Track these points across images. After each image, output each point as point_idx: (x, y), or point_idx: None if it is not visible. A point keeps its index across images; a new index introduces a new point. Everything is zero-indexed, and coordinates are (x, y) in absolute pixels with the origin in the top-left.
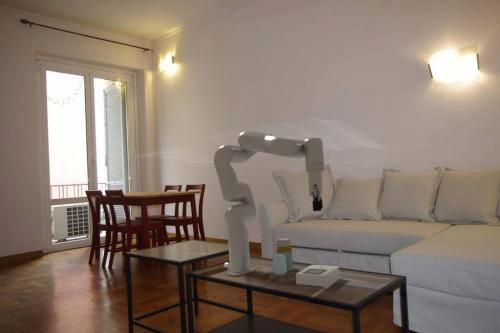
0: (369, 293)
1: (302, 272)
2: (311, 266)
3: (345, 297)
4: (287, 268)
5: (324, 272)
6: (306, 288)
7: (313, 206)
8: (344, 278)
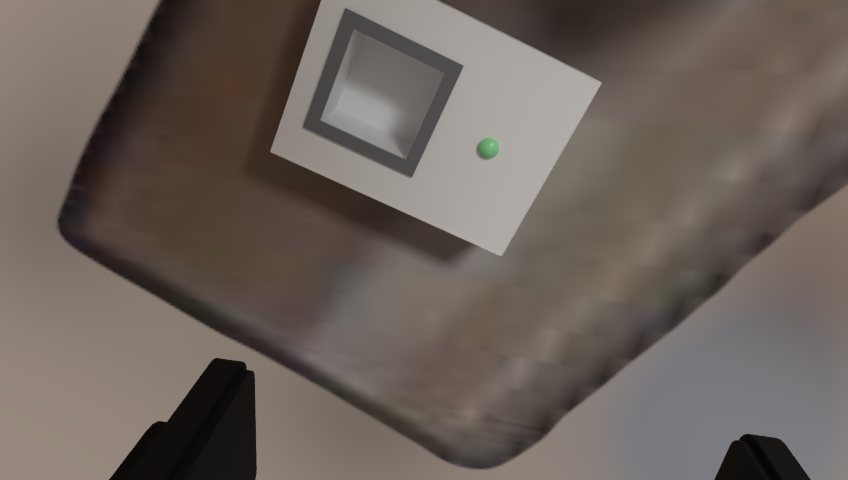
0: (231, 311)
1: (367, 5)
2: (543, 77)
3: (166, 211)
4: None
5: (352, 156)
6: None
7: (171, 435)
8: None
